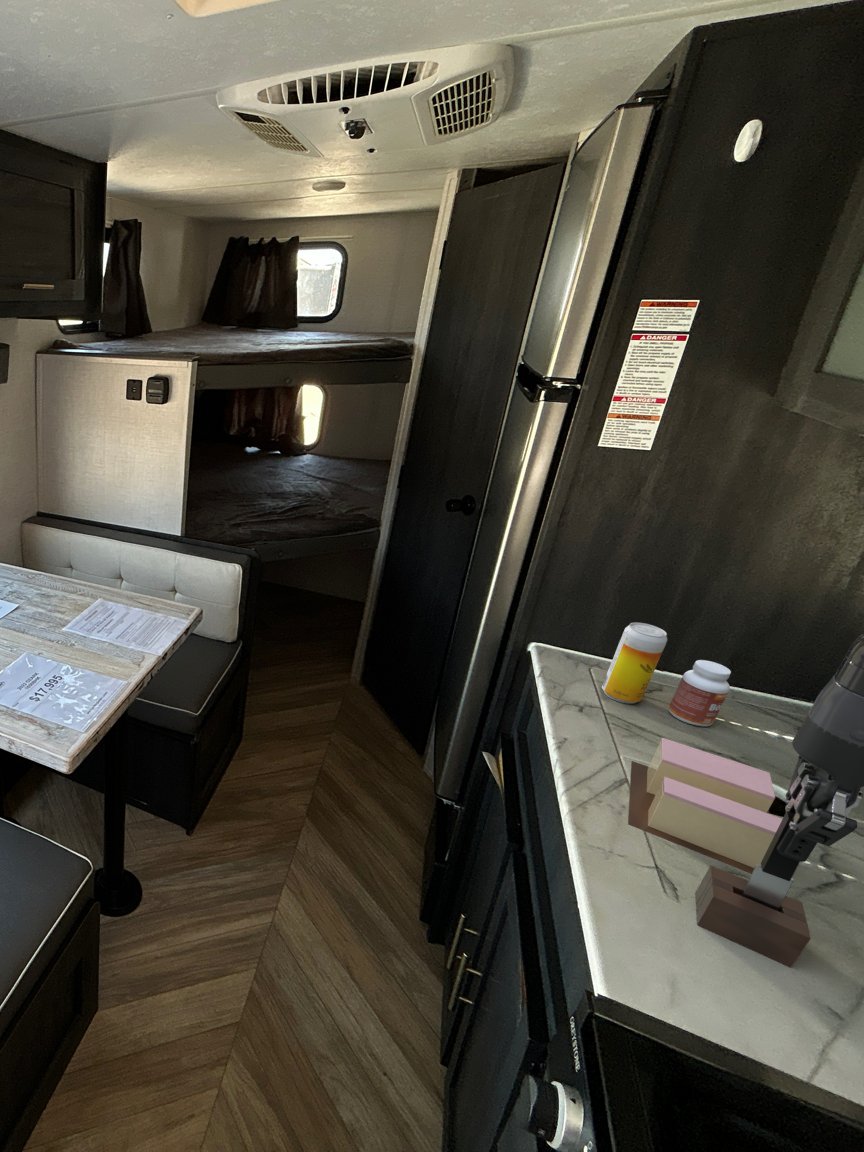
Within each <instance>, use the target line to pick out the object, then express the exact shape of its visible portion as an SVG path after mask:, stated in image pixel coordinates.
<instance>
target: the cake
mask: <svg viewBox="0 0 864 1152" xmlns="http://www.w3.org/2000/svg"><path fill="white" fill-rule="evenodd" d="M664 777H667V778H670V779H673V780H676V781H678V782H681V783H684V784H687V785H690V786H692V787H695V788H698V789H701V790H704V791H706V792H709V793H712V794H715V795H718V796H720V797H723V798H726V799H729V800H732V801H734V802H737V803H740V804H743V805H746V806H748V807H751V808H754V809H757V810H760V811H762V812H765V813H767V812H768V810H769V811H770V808H771V806H772V805H773V803H774V801H775V799H776V794H775V789H774V785H773V782H772V781H773V780H772V776H771V773H770V772H769V771H765V770H762V769H759V768H757V767H753V766H750V765H747V764H744V763H742V762H738V761H736V760H732V759H729V758H727V757H723V756H720V755H716V754H713V753H711V752H707V751H705V750H702V749H699V748H696V747H692V746H689V745H687V744H683V743H680V742H677V741H675V740H672V739H668V738H665V737H661V739H660V741H659V743H658V745H657V748H656V750H655V752H654V753H653V756H652V759H651V761H650V763H649V765H648V769H647V792H648V793H651V794H653V795H656V793H657V791H658V789H659V787H660V785H661V783H662V781H663V778H664Z"/></svg>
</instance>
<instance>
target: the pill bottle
mask: <svg viewBox="0 0 864 1152" xmlns="http://www.w3.org/2000/svg"><path fill="white" fill-rule="evenodd" d="M731 674H732V671H731V670H730V669H729V667H727V666H724V665H722V664H721V663H718V662H715V661H710V660H705V659H697V660H696V661H695V662H694V664H693V665H692V669H690V670H687V671H686V672H684V673H683V674H682V677H681V679H680V681H679V683H678V685H677V687H676V690H675V692H674V694H673V697H672V698H671V701H670V703H669V706H668V712H669V713H670V714H671V716H673V717H674V718H675V719H677V720H678V721H681V722H683V723H686V724H689V725H692V726H697V727H710V726H712V725H713V724H714V722H715V720H716V718H717V716H718V715H719V712H720V710H721V708H722V706H723V704H724V702H725V700H726V698H727V696H728V694H729V693H730V690H731V686H730V683H729V682H728V680H729V678H730V676H731Z"/></svg>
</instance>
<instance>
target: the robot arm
mask: <svg viewBox="0 0 864 1152" xmlns="http://www.w3.org/2000/svg"><path fill="white" fill-rule="evenodd" d="M791 745H792V748H793V750H794V751H795V753H797V755H798V756H797V758H798V759H797V762H796V765H795V768H794V771H793V774H792V777H791V780H790V784H789V786H788V789H787V792H786V793H785V800H786V801H788V804H786V805H785V808H784V809H785V812H786V811H789V812H792V813H795V816H794V817H793V819H792V821H790V823H789V825H790V826H789V827H788V829H787V831H786V832H785V834H784V836H783V837H782V839H781V841H780V842H779V844H778V846H777V850H778V853H779V854H781V855H783V856H785V857H788V858H791V859H793V860H796V861H799V862H800V863H804V862H806V861H808V859H809V857H810V855H811V854H812V852H813V851H814V849H815V848H816V845H817V844H821V845H824V846H827V847H830V846H833V845H834V844H835V843H837V842H838V841H841V840H842V839H843V838H845V837H847V836H849V835H850V834H851V833H853V832H854V831H855V830H857V828H858V821H857V820H856V819H854V818H851V817H848V816H849V814H850V813H851V811H852V809H854V808H857V807H858V806H859V805H860V803H861V801H863V797H864V792H863V791H861V788H864V633H862V634H860V635H859V636H857V637H856V638H855V640H854V641H853V642H852V644H851V645H850V647H848V649H847V651H846V653H845V654H844V656H843V658H842V660H841V662H840V664H839V665H838V667H837V668H836V671H835V672H834V674H833V676H832V677H831V678H830V679H829V681H828V682H827V683H826V684H825V686H824V687H823V688H822V689H821V690H820V692H819V693H818V695H817V697H816V699H815V700H814V702H813V704H812V705H811V708H810V709H809V711H808V712H807V714H806V715H805V718H804V720H803V722H801V724H800V726H799V729H798V730H797V732H796V734H795V736H794V737H793V739H792V743H791ZM805 818H806V819H805Z"/></svg>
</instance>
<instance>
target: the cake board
mask: <svg viewBox="0 0 864 1152" xmlns="http://www.w3.org/2000/svg"><path fill="white" fill-rule="evenodd" d="M630 762H631V763H630V778H629V781H630V782H629V796H628V798H629V799H628V814H627V815H628V816H627V825H629V826H631V827H633V828H635V829H639V830H641V831H643V832H646V833H648V834H651V835H653V836H656V837H658V838H661V839H662V840H663V839H664V840H666V841H668V842H671V843H673V844H676V845H678V846H681V847H682V848H683V847H684V848H686V849H689V850H691V851H694V852H696V853H699V854H700V855H703V856H706V857H709V858H711V859H713V860H716V861H718V862H721V863H723V864H726V865H728V866H731V867H733V868H735V869H738V870H741V871H743V872H746V873H748V874H750V875H751V874H752V872H753V870H754V868H752V867H750V866H747V865H745V864H742V863H740V862H737V861H735V860H732V859H730V858H727V857H725V856H722V855H720V854H717V853H715V852H712V851H709V850H707V849H704V848H702V847H699V846H697V845H694V844H692V843H689V842H687V841H684V840H682V839H679V838H677V837H674V836H672V835H669V834H667V833H664V832H662V831H659V830H657V829H654V828H652V827H649V826H648V810H649V808H650V806H651V804H652V802H653V800H654V797H655V795H653V794H651V793H648V792H647V769H648V767H649V765H645V764H642V763H640V762H637V761H634V760H631V761H630ZM767 813H768V814H770V809H769V810H768V812H767Z"/></svg>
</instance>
